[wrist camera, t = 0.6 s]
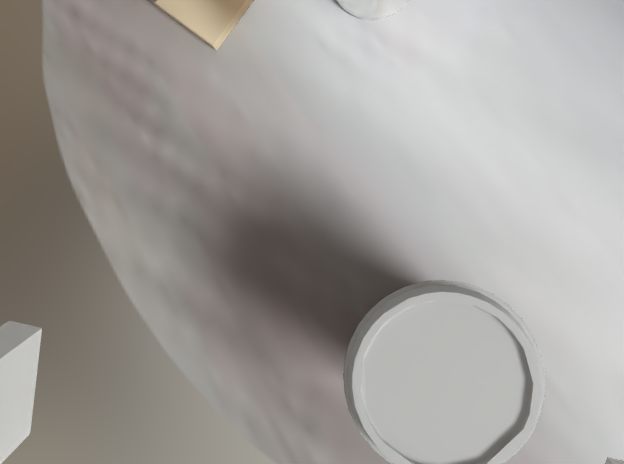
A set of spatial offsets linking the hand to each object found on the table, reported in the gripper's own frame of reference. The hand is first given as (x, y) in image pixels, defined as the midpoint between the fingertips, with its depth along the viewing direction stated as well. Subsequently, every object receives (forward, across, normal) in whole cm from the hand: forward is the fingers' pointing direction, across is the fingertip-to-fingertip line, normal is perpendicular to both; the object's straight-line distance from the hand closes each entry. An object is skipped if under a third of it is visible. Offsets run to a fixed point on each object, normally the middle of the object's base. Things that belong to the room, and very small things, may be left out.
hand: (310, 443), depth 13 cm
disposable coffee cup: (+24, +8, -7) cm, 27 cm away
